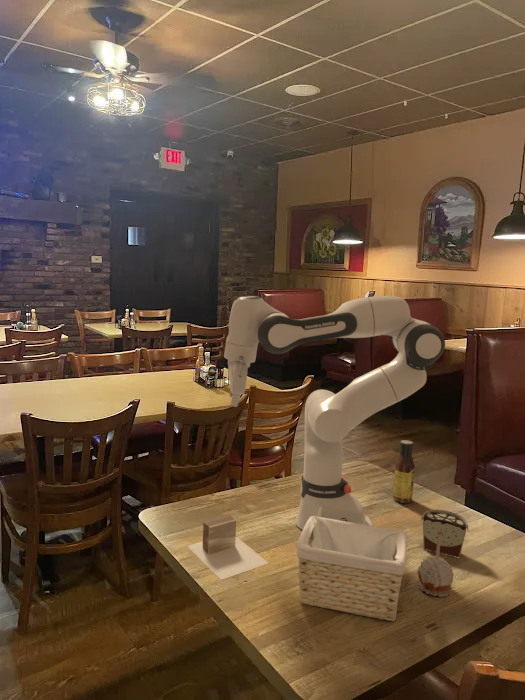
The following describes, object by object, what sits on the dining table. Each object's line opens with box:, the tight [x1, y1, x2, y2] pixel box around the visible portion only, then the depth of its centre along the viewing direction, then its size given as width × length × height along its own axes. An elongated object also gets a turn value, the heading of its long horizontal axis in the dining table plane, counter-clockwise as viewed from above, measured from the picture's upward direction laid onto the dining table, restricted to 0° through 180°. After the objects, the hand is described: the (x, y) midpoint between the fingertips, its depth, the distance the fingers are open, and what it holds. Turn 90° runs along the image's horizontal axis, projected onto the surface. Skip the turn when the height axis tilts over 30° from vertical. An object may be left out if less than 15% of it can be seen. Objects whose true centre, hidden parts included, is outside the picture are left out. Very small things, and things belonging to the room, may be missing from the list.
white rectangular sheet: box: [186, 536, 269, 581], centre depth 142 cm, size 18×14×1 cm
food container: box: [420, 509, 469, 558], centre depth 150 cm, size 12×6×10 cm, turn 65°
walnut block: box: [202, 514, 237, 555], centre depth 145 cm, size 4×8×8 cm, turn 125°
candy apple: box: [416, 530, 454, 598], centre depth 131 cm, size 8×8×15 cm
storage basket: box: [296, 516, 408, 622], centre depth 127 cm, size 24×16×15 cm
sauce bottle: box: [392, 439, 416, 504], centre depth 178 cm, size 6×6×20 cm
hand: (233, 401), depth 154 cm, fingers open, 8 cm apart
